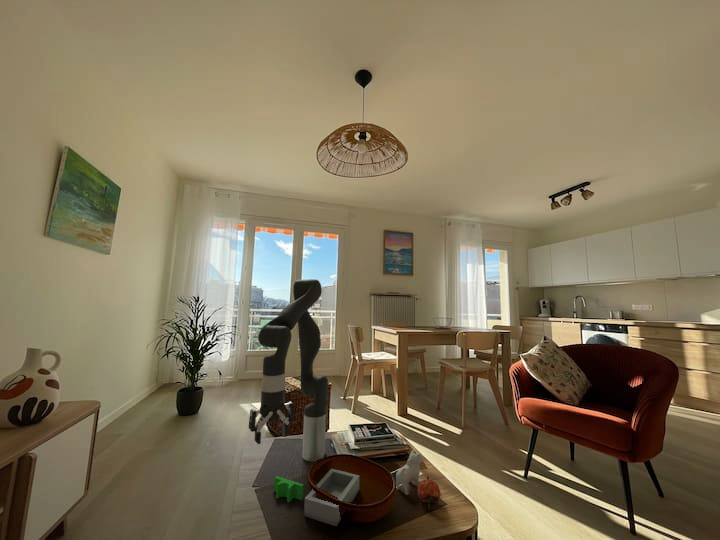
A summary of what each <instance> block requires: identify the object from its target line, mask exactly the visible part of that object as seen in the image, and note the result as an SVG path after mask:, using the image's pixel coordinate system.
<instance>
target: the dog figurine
mask: <svg viewBox="0 0 720 540" xmlns="http://www.w3.org/2000/svg"><path fill="white" fill-rule="evenodd" d="M421 463H423V456H422V454H421V453H419V452H417V453H415V450H413V449H412V450H411V452H410V454H409V455H408V458H407V462H406V464H404V466H402V467H403V468H402V467H401V468H402V469H400V468H398V469H399V470H398V469H397V470H398V472H397V473H396V490H397V491H399V490H400V487H399V485H400V483H401V484H402V485H401V486H402V487H403V488H404V494H405V495H406V496H408V495H410V491H409V483H411V481H413V480H414V483H415V487H417V488H418V485H419V483H420V482H419V477H420V476H419V474H420V472H421V469H420V468H421V467H420V464H421Z"/></svg>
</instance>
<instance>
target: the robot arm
mask: <svg viewBox="0 0 720 540" xmlns="http://www.w3.org/2000/svg"><path fill="white" fill-rule="evenodd" d="M322 289H323V288H322V284H321V282H320V280H318V279H297V280H295V281H294V284H293V289H292V291H293V299H294V301H292V302H290V303H289V304H287V305H286V306H285V307H284V308H283V309H282V310H281V312H279V313H278V315H277V316H275V318H273V319H271V320H270V321H269V322H266V323H265V325H264V326H262V328H261V329H260V330H259V333H258V335H257V336H258V343H259V344H260V346H262V347H263V348H276V351H275V352H274V353H272V354H267V355H266V356H264V358H263V360H262V377H261V384H260V385H261V389H260V407H259V409H254V408H251V409H250V410H249V417H248V418H249V419H248V430H250V432H251V433H253V432H254V442H255V443H256V444H257V445H260V444H261V439H262V431H261V430H262V429H263V427H265V425H267V423H268V422H269V423H270V422H273V421H277V420H279V419H280V420H281V421H282V422H283V423H281V424H282V425H281V427H282V428H281V430H282V431H281V435H282V436H283V438H284V437H285V438H286V437H287V435H288V434H289V425H290V423H291V422H294V421H295V405H294V402H292V401H291V400H289V401H287V403H285V401H286V359H287V355H288V351H289V348H290V345H291V342H292V337H293V336H292V332H291V331H292V330H293V329H294V328H295V326H296V325H297V329H298V333H297V334H298V345H299V353H300V354H299V355H300V389H301V394H302V395H303V396H306V397H309V398H314V402H313V403H309V404H307V405H305V406H304V409H303V431H302V432H303V435H302V456H301V457H302V459H303V460H304V461H307V462H318V461H317V460H319V459H321V458H322V459H324V457H325V453H326V452H325V451H326V412H327V411H326V410H327V406H328V395H329V379H328V378H327V376H325V375H320V374H314V367H313V365H314V362H315V359H316V357H317V355H318V353H319V352H320V349H321V345H322V343H321V342H322V341H321V339H322V338H321V330H320V327H319V326H318V324H317V322H316V321H315V320H314V318H313V317H312V316H311V314H310V311H309V309H310V308H311V307H312V306H313V305H314V304H315V303H316V302H318V300H319V299H320V298H321V295H322ZM286 409H287V417H286V416H285V414H284V412H285V410H286ZM259 415H260V416H259ZM258 416H259V418H258ZM256 418H258V420H256ZM322 459H321V460H322ZM319 461H320V460H319Z"/></svg>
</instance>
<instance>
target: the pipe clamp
mask: <svg viewBox="0 0 720 540" xmlns="http://www.w3.org/2000/svg"><path fill="white" fill-rule="evenodd" d="M273 483H274V484H273V492H275V498H276V499H280V498H282V497H285V498H286V502H287V503H290V502H291V501H293V499H297V500H299V501H302V500H303V499H304V483H300V482H297V481H295V480H290V479H287V478H284V477H281V476H277V475H276V476H275V477H274V480H273Z"/></svg>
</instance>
